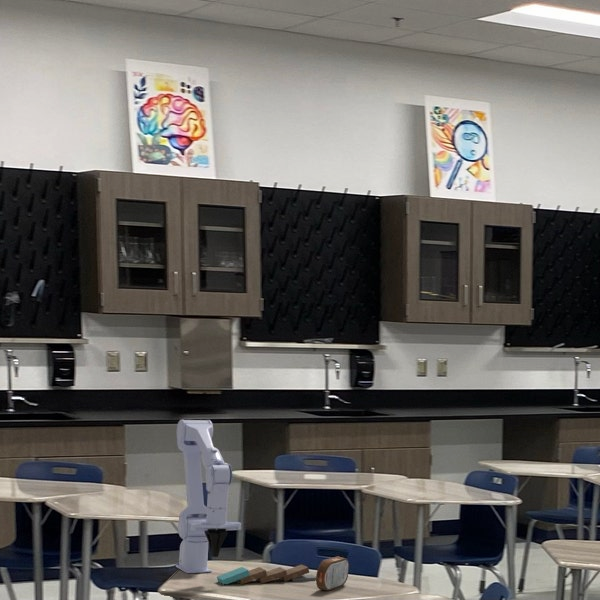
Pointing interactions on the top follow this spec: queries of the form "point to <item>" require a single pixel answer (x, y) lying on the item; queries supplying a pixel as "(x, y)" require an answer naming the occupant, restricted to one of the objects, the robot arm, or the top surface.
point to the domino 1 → (253, 575)
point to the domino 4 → (304, 578)
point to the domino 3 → (295, 572)
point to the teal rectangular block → (233, 575)
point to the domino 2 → (273, 575)
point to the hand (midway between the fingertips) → (214, 556)
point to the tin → (332, 573)
